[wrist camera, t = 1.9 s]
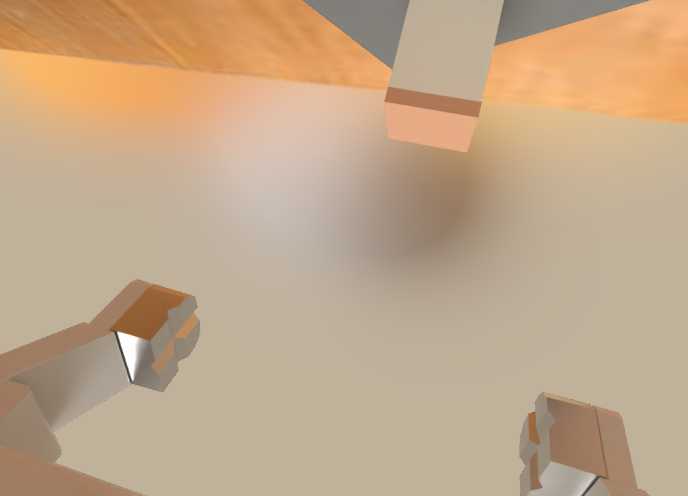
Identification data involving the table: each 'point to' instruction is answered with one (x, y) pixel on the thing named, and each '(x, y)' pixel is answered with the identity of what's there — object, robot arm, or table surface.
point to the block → (441, 71)
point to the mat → (515, 22)
